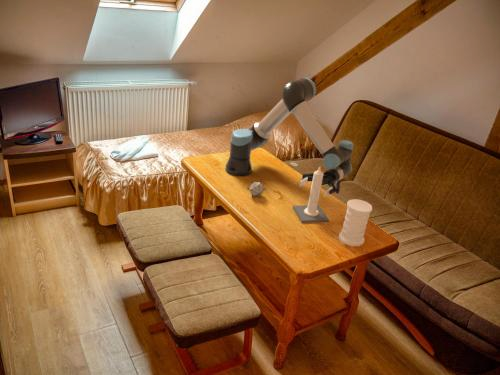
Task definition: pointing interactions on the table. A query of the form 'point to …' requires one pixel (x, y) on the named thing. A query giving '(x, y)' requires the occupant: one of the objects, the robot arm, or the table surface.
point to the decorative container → (355, 222)
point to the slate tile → (307, 219)
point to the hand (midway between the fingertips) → (312, 188)
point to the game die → (256, 188)
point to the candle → (314, 194)
